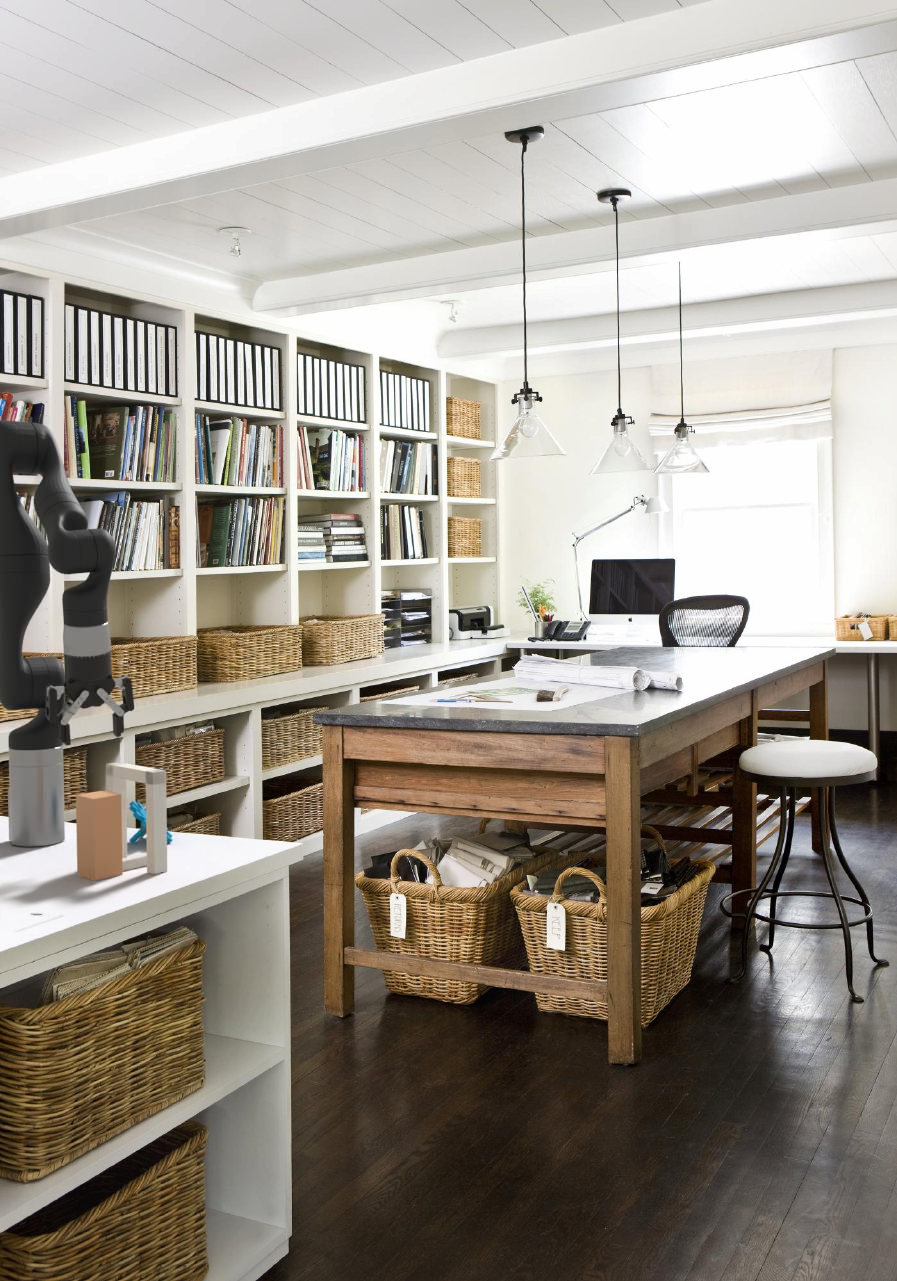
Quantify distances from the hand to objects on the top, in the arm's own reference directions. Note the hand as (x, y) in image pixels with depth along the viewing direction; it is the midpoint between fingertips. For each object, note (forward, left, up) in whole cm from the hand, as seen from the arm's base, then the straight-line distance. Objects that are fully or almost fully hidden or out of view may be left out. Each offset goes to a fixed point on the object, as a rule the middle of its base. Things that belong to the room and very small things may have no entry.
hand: (92, 739), depth 196 cm
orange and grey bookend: (+12, -2, -20) cm, 23 cm away
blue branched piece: (-1, +12, -20) cm, 24 cm away
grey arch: (+12, 0, -20) cm, 23 cm away
